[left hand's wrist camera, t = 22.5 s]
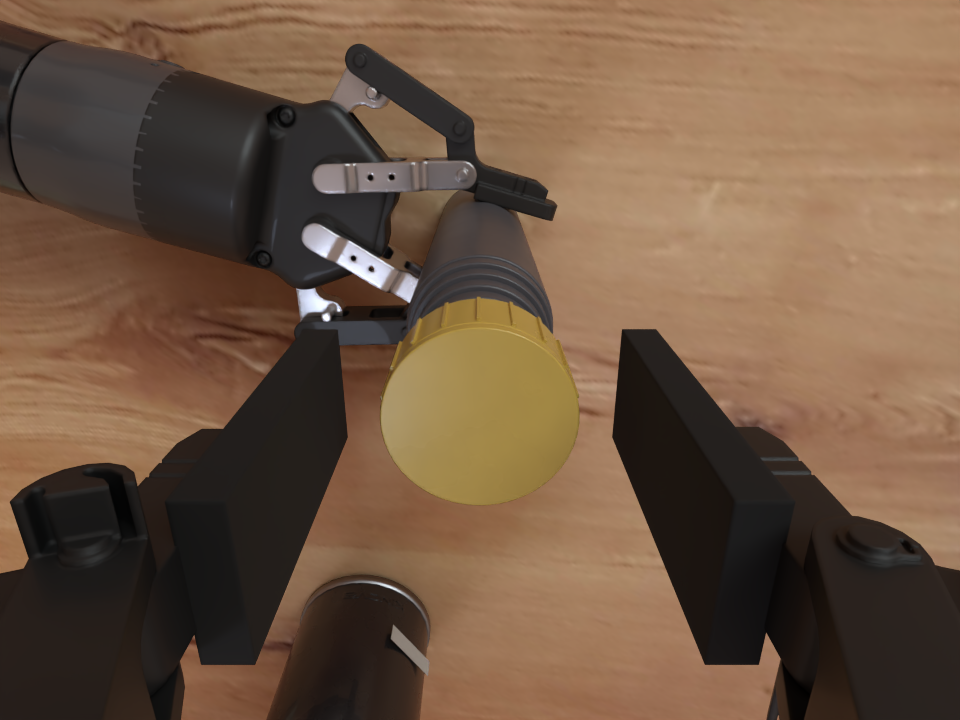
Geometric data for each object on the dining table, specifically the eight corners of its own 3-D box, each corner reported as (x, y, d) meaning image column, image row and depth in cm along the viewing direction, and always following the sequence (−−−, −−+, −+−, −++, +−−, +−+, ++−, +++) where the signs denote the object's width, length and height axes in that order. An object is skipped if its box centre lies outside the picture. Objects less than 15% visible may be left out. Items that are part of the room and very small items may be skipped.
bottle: (479, 167, 34) (478, 266, 12) (533, 222, 35) (622, 406, 13) (426, 223, 35) (337, 407, 13) (480, 275, 36) (480, 524, 14)
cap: (534, 268, 13) (544, 294, 11) (590, 428, 15) (606, 474, 13) (361, 331, 14) (343, 366, 12) (431, 479, 15) (425, 531, 13)
